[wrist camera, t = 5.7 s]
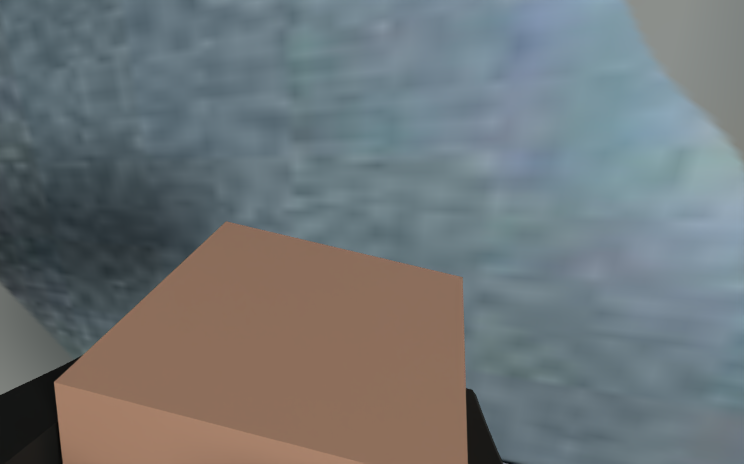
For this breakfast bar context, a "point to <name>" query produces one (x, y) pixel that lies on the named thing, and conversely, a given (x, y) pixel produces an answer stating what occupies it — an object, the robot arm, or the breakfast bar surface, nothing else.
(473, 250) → the breakfast bar surface
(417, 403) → the terracotta cube
